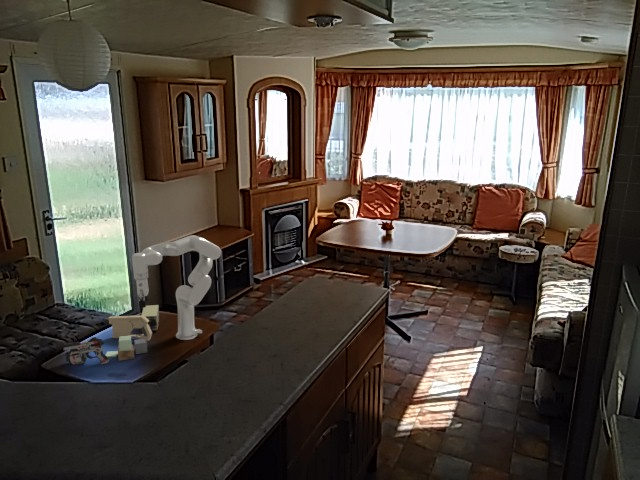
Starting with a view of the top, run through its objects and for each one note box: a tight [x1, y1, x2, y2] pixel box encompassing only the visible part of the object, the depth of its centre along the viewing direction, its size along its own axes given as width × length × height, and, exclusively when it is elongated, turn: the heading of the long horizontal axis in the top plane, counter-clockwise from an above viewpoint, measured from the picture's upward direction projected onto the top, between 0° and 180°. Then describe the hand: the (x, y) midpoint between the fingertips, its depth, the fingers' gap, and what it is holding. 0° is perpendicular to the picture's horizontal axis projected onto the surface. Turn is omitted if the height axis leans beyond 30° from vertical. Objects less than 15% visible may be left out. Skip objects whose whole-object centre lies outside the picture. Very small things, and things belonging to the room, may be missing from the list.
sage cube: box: [118, 336, 133, 351], centre depth 286 cm, size 6×6×6 cm
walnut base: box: [117, 344, 135, 361], centre depth 288 cm, size 8×8×5 cm
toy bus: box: [140, 304, 160, 331], centre depth 330 cm, size 10×23×10 cm, turn 14°
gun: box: [108, 314, 153, 342], centre depth 309 cm, size 24×3×15 cm, turn 84°
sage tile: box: [104, 350, 118, 358], centre depth 289 cm, size 6×6×1 cm
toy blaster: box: [62, 336, 110, 365], centre depth 277 cm, size 4×21×15 cm, turn 95°
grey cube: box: [133, 338, 148, 355], centre depth 295 cm, size 6×6×6 cm
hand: (143, 304), depth 293 cm, fingers open, 9 cm apart
